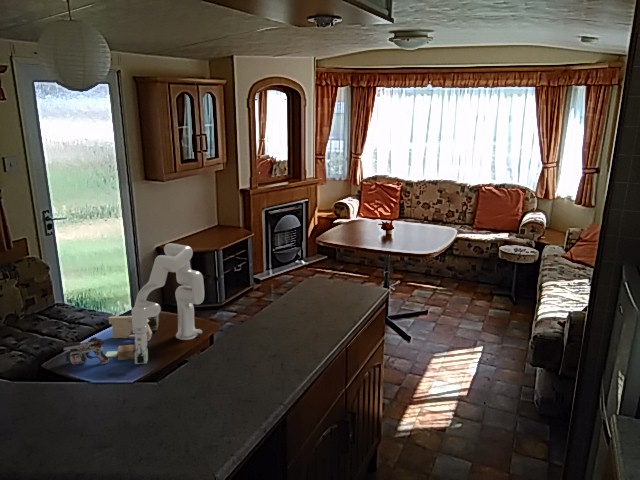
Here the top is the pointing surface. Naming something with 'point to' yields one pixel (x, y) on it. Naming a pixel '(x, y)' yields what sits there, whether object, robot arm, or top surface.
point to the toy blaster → (85, 351)
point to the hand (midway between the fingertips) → (141, 359)
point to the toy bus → (153, 322)
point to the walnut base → (125, 352)
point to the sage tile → (111, 354)
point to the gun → (125, 327)
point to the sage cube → (145, 354)
